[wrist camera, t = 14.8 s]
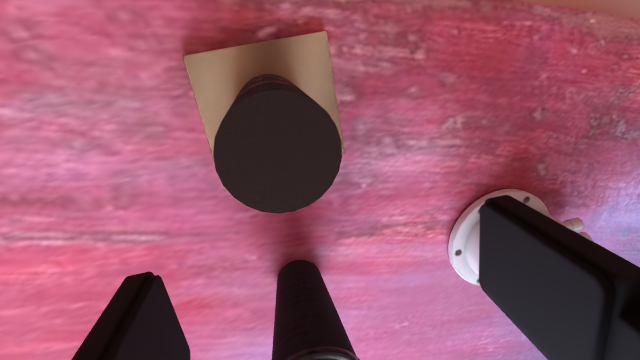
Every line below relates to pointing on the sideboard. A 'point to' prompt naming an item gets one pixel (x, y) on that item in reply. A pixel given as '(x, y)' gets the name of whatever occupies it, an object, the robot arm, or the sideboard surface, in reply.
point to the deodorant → (276, 147)
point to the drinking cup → (307, 318)
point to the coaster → (257, 59)
